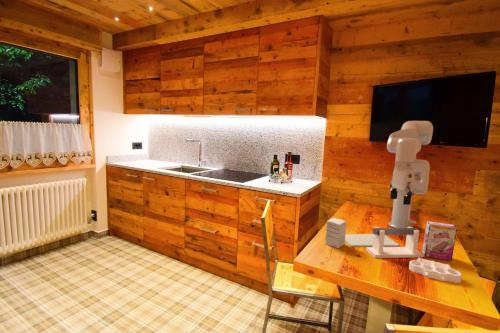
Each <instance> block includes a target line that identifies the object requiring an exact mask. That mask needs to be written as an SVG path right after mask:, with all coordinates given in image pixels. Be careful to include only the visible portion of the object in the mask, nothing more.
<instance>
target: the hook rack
mask: <svg viewBox="0 0 500 333" xmlns="http://www.w3.org/2000/svg"><path fill="white" fill-rule="evenodd" d="M374 228H381V227H380V226H374ZM408 228H414V227H413V226H411V227H408ZM373 234H374V233H373ZM384 236H385V231H384V230H380V233H379V235H375V234H374V238H373V246H365V251H367V252H368V254H370V255H371V256H372V257H373V258H374V259H383V258H384V259H386V258H388V259H389V258H391V259H392V258H395V259H396V258H398V259H399V258H424V254H423V253H422V252H420V251H419V250H418V245H419V236H420V235H419V231H418V230H414V234H413V235H406V238H405V246H384Z"/></svg>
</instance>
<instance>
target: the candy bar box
mask: <svg viewBox="0 0 500 333" xmlns="http://www.w3.org/2000/svg"><path fill="white" fill-rule="evenodd" d="M457 233H458V227H457V226H455V225H454V224H451V223H450V224H449V223H443V222H435V221H430V220H429V221H428V220H427V221H426V226H425V231H424V239H423V243H422V244H423V245H422V252H421V253H422V254H423V257H425V258H431V259H435V260H442V261H450V262H452V260H453V256H454V249H455V244H456V243H455V242H456V238H457V237H456V236H457Z"/></svg>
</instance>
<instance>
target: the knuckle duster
mask: <svg viewBox="0 0 500 333" xmlns="http://www.w3.org/2000/svg"><path fill="white" fill-rule="evenodd" d="M408 269H409V270H410V272H413V273H416V274H418V275H419V274H420V275H421V276H424V277H426V278H430V279H434V280H437V281H440V282H441V281H442V282H451V283H454V284H459V283H461V282H462V277H463V276H462V275H463V274H462V273H461V272H460V271H458V270H457V269H454V268H451V265H450V264H448V263H442V262H438V261H435V260H429V259H426V258H422V257H417V259H416V260H414V259H413V260H410V261H409V265H408Z"/></svg>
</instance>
